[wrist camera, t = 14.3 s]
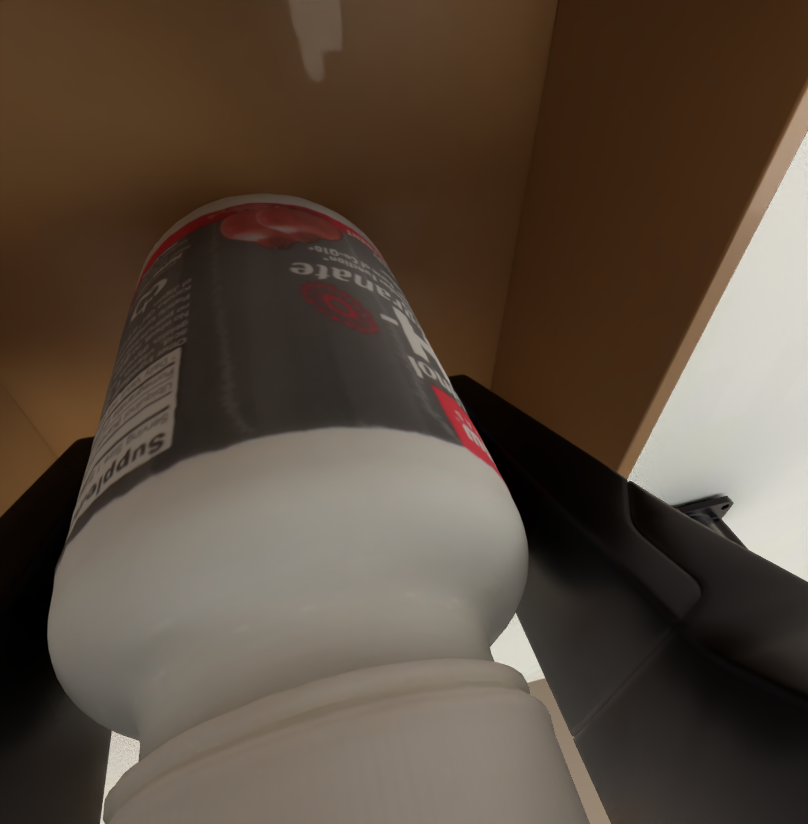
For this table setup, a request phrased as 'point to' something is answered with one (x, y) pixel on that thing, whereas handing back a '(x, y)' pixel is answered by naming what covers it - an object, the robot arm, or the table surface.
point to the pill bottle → (296, 550)
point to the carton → (400, 180)
